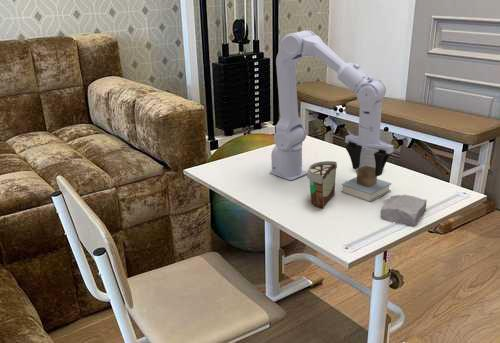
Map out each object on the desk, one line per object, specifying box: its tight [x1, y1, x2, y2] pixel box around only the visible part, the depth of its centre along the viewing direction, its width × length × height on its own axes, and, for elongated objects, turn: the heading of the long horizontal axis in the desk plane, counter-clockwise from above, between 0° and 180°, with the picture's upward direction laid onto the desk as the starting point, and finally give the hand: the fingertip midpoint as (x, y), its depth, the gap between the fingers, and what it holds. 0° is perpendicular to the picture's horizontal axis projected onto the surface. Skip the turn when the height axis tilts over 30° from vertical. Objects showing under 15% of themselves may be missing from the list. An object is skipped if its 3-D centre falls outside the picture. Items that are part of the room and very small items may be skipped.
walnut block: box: [356, 165, 378, 187], centre depth 141 cm, size 4×4×4 cm
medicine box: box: [355, 146, 379, 173], centre depth 156 cm, size 8×4×9 cm, turn 84°
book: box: [341, 176, 392, 203], centre depth 142 cm, size 10×10×2 cm
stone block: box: [380, 194, 427, 227], centre depth 129 cm, size 12×5×10 cm
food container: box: [306, 160, 338, 210], centre depth 137 cm, size 12×6×10 cm, turn 152°
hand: (367, 171), depth 141 cm, fingers open, 7 cm apart
